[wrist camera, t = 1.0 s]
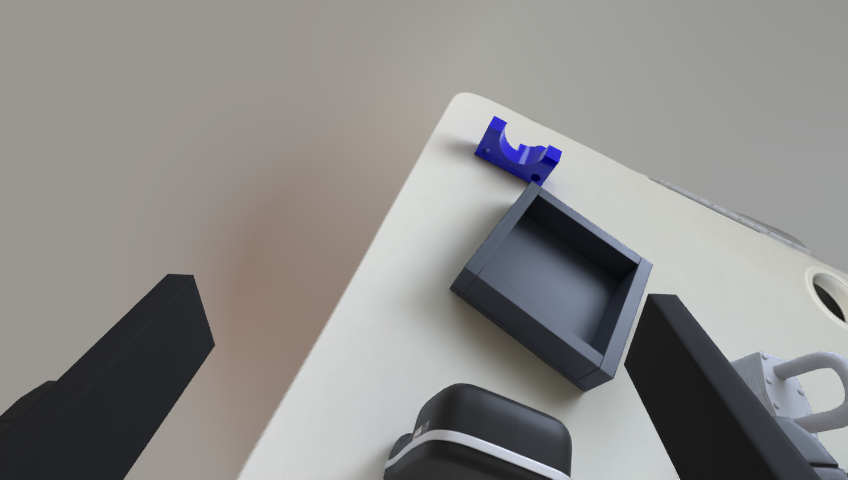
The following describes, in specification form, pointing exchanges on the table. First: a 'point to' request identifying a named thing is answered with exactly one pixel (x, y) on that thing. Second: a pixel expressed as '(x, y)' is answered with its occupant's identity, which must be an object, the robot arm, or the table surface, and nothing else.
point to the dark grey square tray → (557, 286)
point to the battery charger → (481, 440)
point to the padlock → (793, 387)
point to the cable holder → (517, 155)
